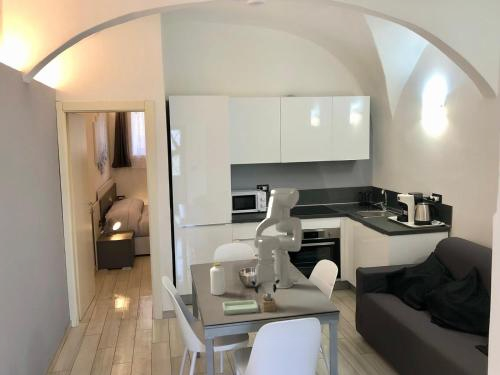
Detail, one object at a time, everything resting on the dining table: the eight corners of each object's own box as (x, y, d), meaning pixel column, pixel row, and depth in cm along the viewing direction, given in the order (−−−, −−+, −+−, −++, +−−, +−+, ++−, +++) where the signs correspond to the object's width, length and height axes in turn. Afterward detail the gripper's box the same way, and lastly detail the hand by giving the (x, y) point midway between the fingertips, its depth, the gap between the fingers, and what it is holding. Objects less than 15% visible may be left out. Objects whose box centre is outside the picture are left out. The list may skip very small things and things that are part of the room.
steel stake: (270, 307, 242) (270, 293, 241) (271, 309, 239) (271, 295, 239) (265, 308, 242) (265, 293, 241) (266, 310, 239) (266, 295, 238)
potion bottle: (211, 291, 271) (210, 262, 269) (225, 290, 271) (224, 261, 269) (211, 296, 262) (210, 266, 260) (225, 295, 263) (224, 265, 261)
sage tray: (255, 304, 248) (255, 299, 248) (258, 312, 236) (258, 307, 236) (222, 306, 246) (222, 302, 246) (224, 314, 234) (224, 310, 234)
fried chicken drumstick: (275, 310, 238) (275, 301, 237) (263, 311, 237) (263, 302, 236) (271, 302, 250) (271, 293, 249) (260, 303, 249) (259, 294, 248)
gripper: (279, 259, 249) (279, 289, 251) (248, 260, 247) (249, 291, 248) (282, 262, 242) (282, 293, 243) (250, 263, 240) (250, 295, 241)
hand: (265, 292), depth 246 cm, fingers open, 9 cm apart
